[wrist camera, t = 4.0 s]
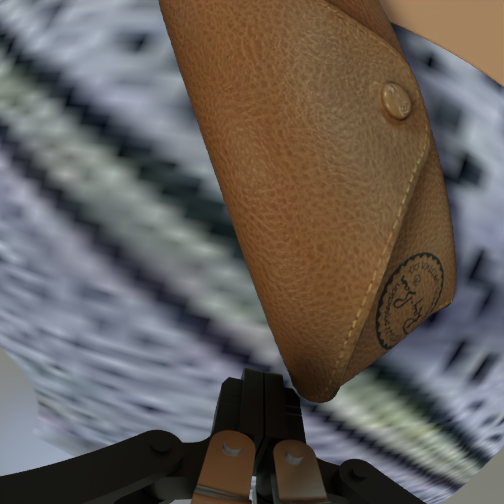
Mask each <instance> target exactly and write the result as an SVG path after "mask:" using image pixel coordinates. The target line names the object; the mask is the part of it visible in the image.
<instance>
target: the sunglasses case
mask: <svg viewBox="0 0 504 504" xmlns="http://www.w3.org/2000/svg"><path fill="white" fill-rule="evenodd" d="M159 5H160V9H161V12H162V15H163V20H164V22H165V25H166V29H167V32H168V35H169V38H170V40H171V45H172V47H173V50H174V54H175V57H176V60H177V63H178V67H179V69H180V72H181V75H182V78H183V81H184V84H185V87H186V89H187V93H188V96H189V98H190V102H191V104H192V108H193V111H194V113H195V116H196V119H197V122H198V125H199V128H200V131H201V133H202V136H203V140H204V143H205V146H206V149H207V151H208V154H209V157H210V160H211V163H212V166H213V168H214V172H215V175H216V177H217V180H218V183H219V186H220V190H221V192H222V195H223V198H224V201H225V203H226V206H227V210H228V213H229V215H230V218H231V221H232V224H233V227H234V230H235V232H236V235H237V238H238V242H239V244H240V247H241V250H242V253H243V256H244V259H245V261H246V264H247V267H248V270H249V272H250V275H251V278H252V281H253V284H254V286H255V289H256V291H257V295H258V297H259V300H260V302H261V305H262V308H263V310H264V313H265V316H266V319H267V322H268V324H269V327H270V329H271V331H272V333H273V336H274V339H275V342H276V344H277V346H278V349H279V352H280V354H281V356H282V358H283V361H284V364H285V366H286V367H287V370H288V372H289V375H290V377H291V381H292V384H293V386H294V387H295V388H296V390H297V392H298V393H299V394H300V395H301V396H302V397H303V398H305V399H307V400H309V401H312V402H317V403H324V402H328V401H330V400H332V399H333V398H334V397H335V396H336V394H337V392H338V390H339V389H340V386H342V385H343V384H345V383H346V382H347V381H349V380H350V379H352V378H354V377H355V376H356V375H357V374H359V373H360V372H361V371H363V370H364V369H365V368H366V367H368V366H369V365H371V364H372V363H374V362H375V361H376V360H377V359H378V358H380V357H381V356H382V355H384V354H385V353H386V352H388V351H389V350H390V349H392V348H393V347H394V346H395V345H397V344H398V343H399V342H400V341H401V340H402V339H404V338H405V337H406V336H407V335H408V334H409V333H411V332H412V331H413V330H414V329H415V328H417V327H418V326H419V325H420V324H421V323H422V322H423V321H425V320H426V319H427V318H428V317H429V316H430V315H431V314H433V313H436V312H438V311H439V310H441V309H443V308H445V307H447V306H449V305H450V304H451V302H453V298H454V294H455V290H456V259H455V245H454V237H453V235H454V234H453V226H452V221H451V214H450V208H449V203H448V197H447V191H446V187H445V183H444V177H443V172H442V167H441V164H440V159H439V155H438V153H437V149H436V144H435V140H434V137H433V133H432V130H431V128H430V123H429V118H428V114H427V110H426V107H425V104H424V100H423V97H422V94H421V92H420V89H419V85H418V83H417V81H416V78H415V76H414V74H413V72H412V70H411V69H410V67H409V64H408V62H407V60H406V57H405V55H404V52H403V50H402V48H401V46H400V43H399V41H398V38H397V36H396V34H395V32H394V30H393V28H392V26H391V23H390V21H389V19H388V17H387V15H386V13H385V12H384V9H383V7H382V6H381V4H380V2H379V0H159Z"/></svg>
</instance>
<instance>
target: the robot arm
mask: <svg viewBox="0 0 504 504" xmlns="http://www.w3.org/2000/svg"><path fill="white" fill-rule="evenodd" d="M301 415H302V413H301V409H300V400H299V397H298V396H297V394H296V393H295V391H294V390H293V389H290V388H284V384H283V376H282V375H281V374H275V373H270V372H265V371H264V372H263V371H259V370H254V369H249V368H244V370H243V373H242V377H241V379H236V378H231V377H228V378H227V379H226V380H225V381H224V382H223V383H222V386H221V390H220V394H219V398H218V402H217V406H216V410H215V415H214V421H213V426H212V431H211V435H210V437H208V438H207V439H205V440H203V441H200V442H193V443H182V442H181V440H180V439H179V438H178V437H177V436H175V435H174V434H172V433H170V432H167V431H163V430H150V431H147V432H144V433H142V434H139V435H137V436H134V437H132V438H129V439H126V440H124V441H121V442H119V443H116V444H113V445H110V446H108V447H105V448H102V449H99V450H96V451H93V452H90V453H87V454H84V455H81V456H78V457H75V458H71V459H68V460H65V461H61V462H58V463H55V464H51V465H47V466H43V467H40V468H36V469H32V470H27V471H23V472H19V473H14V474H10V475H5V476H0V504H169V503H171V502H173V501H174V500H178V499H179V500H180V499H192V500H191V504H252V501H251V500H249V494H250V487H251V480H252V476H256V485H255V487H254V489H253V492H252V499H253V504H426V503H425V502H423V501H422V500H420V499H419V498H417V497H416V496H414V495H413V494H411V493H410V492H408V491H407V490H405V489H404V488H403V487H401V486H400V485H398V484H397V483H395V482H394V481H393V480H391V479H390V478H388V477H387V476H386V475H384V474H383V473H382V472H380V471H379V470H378V469H376V468H375V467H373V466H372V465H371V464H369V463H368V462H366V461H363V460H360V459H349V460H346V461H345V462H343V463H342V464H341V465H340V466H339V465H336V464H332V463H329V462H325V461H323V460H320V459H318V458H317V457H316V455H315V452H314V451H313V449H312V448H311V447H310V446H308V445H307V444H306V439H305V432H304V426H303V419H302V416H301Z"/></svg>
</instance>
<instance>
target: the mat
mask: <svg viewBox="0 0 504 504" xmlns="http://www.w3.org/2000/svg"><path fill="white" fill-rule="evenodd" d="M379 2H380V4H381V6H382V7H383V9H384V12H385V13H386V15H387V17H388V19H389V21H390V23H392V24H395V25H397V26H399V27H402V28H404V29H406V30H408V31H410V32H412V33H415V34H417V35H419V36H421V37H423V38H425V39H427V40H429V41H431V42H433V43H434V44H436V45H438V46H440V47H442V48H444V49H445V50H447V51H449V52H451V53H452V54H454V55H456V56H458V57H459V58H461V59H463V60H464V61H466V62H467V63H469V64H471V65H472V66H474V67H475V68H477V69H478V70H480V71H481V72H483V73H484V74H486V75H487V76H489V77H490V78H492V79H493V80H494V81H496V82H497V83H499V84H500V85H501V86H503V87H504V0H379Z"/></svg>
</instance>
